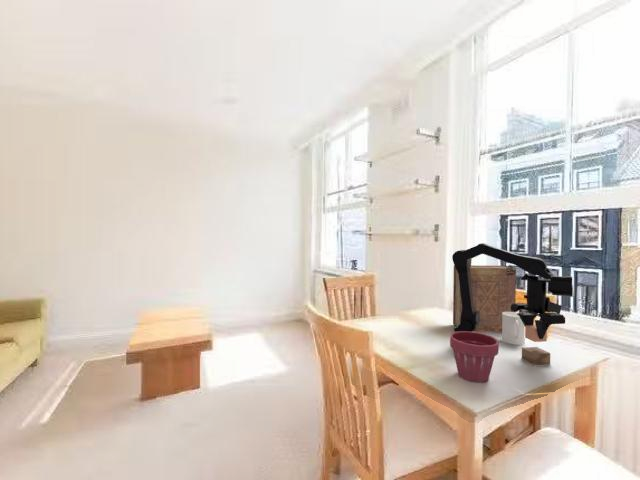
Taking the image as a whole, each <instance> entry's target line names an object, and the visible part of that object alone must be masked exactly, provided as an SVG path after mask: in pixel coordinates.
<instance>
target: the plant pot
mask: <svg viewBox="0 0 640 480" xmlns="http://www.w3.org/2000/svg"><path fill="white" fill-rule="evenodd" d="M449 336H450V337H449V338H450V340H449V346H450V348H451V349H452V350H453V356H454V359H455V361H454V362H455V365H456V369H457V375H458V376H459V377H461V378H462V379H463V380H465V381H468V382H471V383H472V382H473V383H486V382H488V381H489V379H490V375H491V372H492V369H493V364H494V361H495V357H496V356H498V354H499V350H500V349H499V347H500V346H499V345H500V344H499V341H498V339H497V338H495V337H493V336H491V335H489V334H486V333H481V332H479V331H472V332H470V331H459V332H455V331H454V332H452V333H450V335H449Z"/></svg>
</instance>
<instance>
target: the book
mask: <svg viewBox="0 0 640 480" xmlns="http://www.w3.org/2000/svg"><path fill="white" fill-rule="evenodd" d="M516 278H517V268H516V267H512V266H508V265H471V268H470V279H471V287H472V296H473V304H474V308H475V310H476V311H480V319H481V321H480V323H479V325H478V327H477V328H476V329H474V330H473V331H472V332H502V313H503V312H514V311H511V305H512V304H513V303H516V298H517V297H516V295H517V293H516V292H517V291H516V286H517V282H516V281H517V279H516ZM452 284H453V286H452V287H453V290H452V291H453V293H452V295H453V296H452V298H453V299H452V303H453V305H452V325H453V326H456V327H457V326H458V325H459V324H460V318H461V312H462V302H461V293H460V285H459V276H458V272H457V270H456V268H455V266H454V265H453V283H452Z"/></svg>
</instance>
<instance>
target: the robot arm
mask: <svg viewBox="0 0 640 480" xmlns="http://www.w3.org/2000/svg"><path fill="white" fill-rule="evenodd" d="M480 255H485V256H487V257H491V258H494V259H497V260H500V261H503V262H505V263H509V264H510V265H515V266H516V267H518V268H520V269H522V270H523V271H525V272H526V273H525V274H524V275H523V276H522V277H520V280H521V281H526V294H523V298H524V299H526V303H525V302H515V303H513V304H512V305H511V311H514V312H516V313H517V315H519V317H520V319H521V320H522V322H523V324H524V327H525V325H536V328H537V333H538V336H539V339H543V337H544V335H545V333H546V331H547V332H548V329H549V328H550V326H551V325H564V324H565V325H566V317H565V316H564V315H563V314H561V312H562V308H563V305H561V304H558V303H555V302H552V301H551V299H550V297H549V296H547V291H548V292H549V293H551V296H560V297H568V298H569V297H570V298H573V297H574V294H573V293H574V285H573V276H572V275H571V276H570V275H568V276H560V275H554V274H553V273H552V272H551V271H550V269H549V268H548V264H547V262H546V260H545V259H543V258H540V257H536V256H529V255H522V254H518V253H514V252H510V251H508V250H505V249H502V248H498V247H496V246H493V245H490V244H488V243H484V242H482V243H479V244H477V245H475V246H473V247H470V248H468V249H460V250H457V251H455V252H454V253H453V254H452V262H453V267H454V266H455V268H456V270H457V272H458V276H459V285H460V293H461V302H462V312H461V318H460V324H459V325H458V326H456V327H455V328H453V330H454V332H459V331H470V332H474V331H473V330H474V329H476V328H477V327H478V325H479V323H480V321H481V319H480V311H476V310H475V308H474V304H473V296H472V287H471V279H470V268H471V266H472V259H474V258H476V257H479V256H480ZM530 274H531V275H530ZM547 283H548V285H547ZM547 286H548V287H547ZM547 288H548V290H547ZM537 317H539V319H536V318H537ZM534 323H535V324H534Z"/></svg>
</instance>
